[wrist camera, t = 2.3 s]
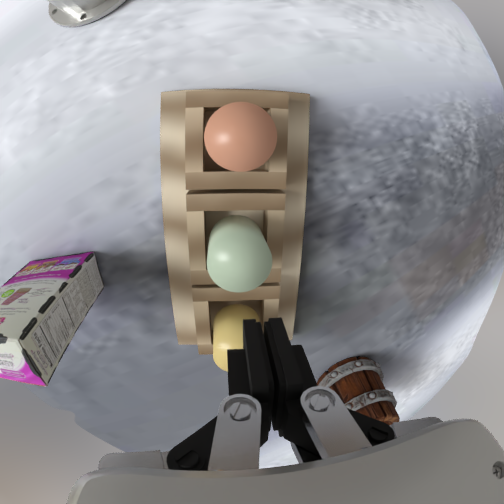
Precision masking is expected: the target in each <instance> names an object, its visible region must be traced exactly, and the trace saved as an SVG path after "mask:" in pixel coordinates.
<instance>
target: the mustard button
mask: <svg viewBox="0 0 504 504" xmlns="http://www.w3.org/2000/svg"><path fill="white" fill-rule="evenodd" d="M243 319H256V322H260V320H259V316H258V314H257V313H256V312H255V310H253V309H252V308H251V307H249V306H246V305H242V304H233V305H229V306H226V307H224V308H222V309H221V310H220V311H219V312H218V313H217V314H216V316H215V318H214V323H213V358H214V361H215V363H216V364H217V365H218V366H219V367H220V368H221V369H223V370H225V371H227V372H228V362H227V349H243Z"/></svg>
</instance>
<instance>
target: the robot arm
mask: <svg viewBox="0 0 504 504" xmlns="http://www.w3.org/2000/svg"><path fill="white" fill-rule="evenodd" d="M47 1H49V2H50V3H49V15H50V18H51V19H52V20H53V21H54V22H55V23H57V24H58V25H60V26H63V27H78V26H82V25H85V24H89V23H91V22H93V21H96V20H98V19H100V18H102V17H103V16H105V15H107V14H109V13H110V12H112V11H113V10H115V9H116V8H117V7H119V6H120V5H121V4H122V3H124V2H125V1H126V0H47ZM227 362H228V384H229V397H227V398H225V399H224V400H223V401H222V402H221V404H220V406H219V411H218V416H216V417H215V418H214V419H212V420H211V421H210V422H208V423H207V424H206V425H204V426H203V427H202V428H200V429H199V430H198V431H196V432H195V433H194V434H192V435H191V436H189V437H188V438H187V439H185V440H184V441H182V442H181V443H179V444H178V445H176V446H175V447H174V448H173V449H171V450H170V451H166V452H161V451H160V450H155V451H143V452H125V453H110V454H106V455H105V456H103V457H102V458H101V460H100V461H99V467H98V468H99V470H96V471H93V472H89V473H87V474H84V475H83V476H81V477H80V478H79V479H78V480H77V481H76V482H75V484H74V486H73V487H72V490H71V492H70V494H69V497H68V500H67V503H66V504H504V451H503V449H502V448H501V446H500V445H499V443H498V442H497V440H496V439H495V438H494V436H493V435H492V434H491V433H490V432H489V430H488V429H487V428H486V427H485V426H484V425H483V424H481V423H480V422H478V421H476V420H473V419H455V420H448V421H444V422H443V421H441V420H440V419H439V418H436V417H428V418H422V419H416V420H409V421H401V422H393V424H392V425H388V424H386V423H384V422H382V421H379V420H376V419H374V418H371V417H369V416H366V415H363V414H361V413H358V412H356V411H353V410H351V409H349V408H346V406H345V405H344V403H343V402H342V400H341V399H340V397H339V396H338V395H337V393H336V392H335V391H333V390H332V389H330V388H327V387H322V386H317V383H316V381H315V378H314V375H313V373H312V370H311V368H310V365H309V362H308V360H307V357H306V355H305V352H304V349H303V347H302V345H291V343H290V340H289V337H288V334H287V331H286V329H285V326H284V323H283V320H282V318H281V317H279V318H269V319H268V321H266V322H264V332H263V330H262V326H261V322H256V319H243V349H227ZM271 420H272V425H273V430H274V431H275V430H278V432H279V436H280V437H282V436H284V438H285V439H286V440H288V441H290V442H291V446H292V449H293V451H294V453H295V456H296V458H297V460H298V462H299V464H295V465H288V466H281V467H272V468H263V469H259V452H260V447H261V446H262V445H263V444H264V443H265V442H266V441H267V440H268V433H269V431H270V427H271Z"/></svg>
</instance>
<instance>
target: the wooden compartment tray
mask: <svg viewBox="0 0 504 504" xmlns="http://www.w3.org/2000/svg"><path fill="white" fill-rule="evenodd" d="M233 102H248V103H252V104H255V105H257V106H259V107H261V108H262V109H264V110H265V111H266V112H267V113H268V114H269V115H270V116H271V118H272V119H273V121H274V123H275V126H276V130H277V143H276V147H275V150H274V152H273V154H272V155H271V157H270V158H269V159H268V160H267V161H266V162H265V163H264V164H263V165H261V166H260V167H258V168H256V169H253V170H250V171H245V172H236V171H231V170H228V169H225V168H223V167H221V166H220V165H218V164H217V163H216V162H215V161H214V160H213V159H212V158H211V157H210V155H209V154H208V152H207V149H206V146H205V142H204V132H205V127H206V125H207V122H208V120H209V119H210V117H211V116H212V115H213V114H214V112H215V111H217V110H218V109H219V108H221V107H222V106H224V105H227V104H230V103H233ZM309 107H310V94H304V93H295V92H285V91H272V90H253V89H199V90H181V91H168V92H161V117H160V157H161V189H162V207H163V222H164V235H165V246H166V257H167V266H168V275H169V283H170V291H171V298H172V306H173V312H174V319H175V325H176V332H177V337H178V343H179V344H198V351H199V354H213V323H214V318H215V316H216V314H217V313H218V312H219V311H220V310H221V309H222V308H224V307H226V306H229V305H233V304H242V305H246V306H249V307H251V308H252V309H253V310H255V312H256V313H257V314H258V316H259V320H260V322H261V326H262V330H263V332H264V322H266V321H268V319H269V318H279V317H281V318H282V320H283V323H284V326H285V329H286V331H287V334H288V337H289V340H292V336H293V329H294V321H295V312H296V304H297V295H298V286H299V276H300V266H301V255H302V244H303V232H304V218H305V204H306V188H307V169H308V146H309ZM231 215H241V216H245V217H248V218H250V219H251V220H253V221H254V222H255V223H256V224H257V225H258V226H259V228H260V230H261V232H262V234H263V236H264V239H265V241H266V243H267V245H268V247H269V249H270V251H271V255H272V268H271V271H270V274H269V276H268V277H267V279H266V280H265V281H264V282H263V283H262V284H261V285H260V286H258V287H257V288H255V289H253V290H250V291H247V292H231V291H227V290H225V289H223V288H221V287H219V286H218V285H217V284H216V283H215V282H214V281H213V280H212V279H211V277H210V275H209V273H208V269H207V255H208V245H209V237H210V233H211V231H212V229H213V227H214V226H215V224H216V223H217V222H219V221H220V220H221V219H223V218H225V217H228V216H231Z"/></svg>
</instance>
